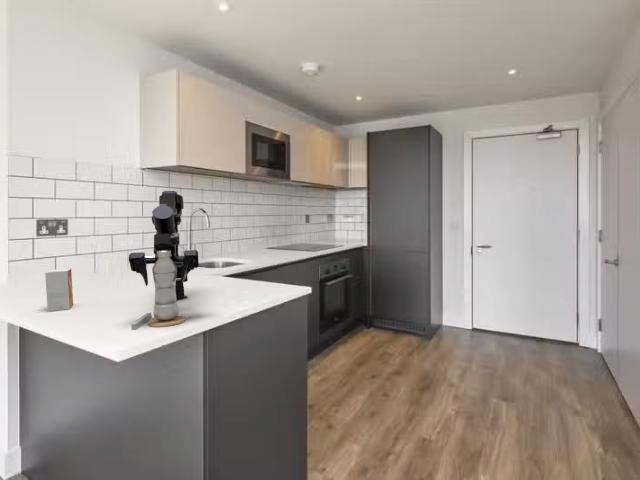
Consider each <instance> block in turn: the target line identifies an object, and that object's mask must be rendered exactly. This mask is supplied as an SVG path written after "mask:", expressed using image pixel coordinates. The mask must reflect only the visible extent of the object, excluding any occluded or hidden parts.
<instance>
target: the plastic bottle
mask: <svg viewBox="0 0 640 480" xmlns="http://www.w3.org/2000/svg"><path fill="white" fill-rule="evenodd" d="M171 256H172V255H171V250H157V257H158V260H157V261H156V262H155V264H153V266H152V270H151V271H152V277H153V282H154V294H155V295H154V304H153V312H152V313H153V318H156V319H157V320H170V319H174V318H176V317H177V316H179V305H178V302H177V299H176V288H175V286H176V275H177V266H176V264H175V263H174V262H173V260H172V259H171Z"/></svg>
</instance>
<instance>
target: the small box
mask: <svg viewBox="0 0 640 480" xmlns="http://www.w3.org/2000/svg"><path fill="white" fill-rule="evenodd" d="M44 273H45V290H46V306H47V307H46V309H47V312H57V311H64V310H70V309H71V308H72V306H73V305H74V297H73V295H74V294H73V277H72V276H73V275H72V274H73V273H72V268H57V269H49V270H47V271H46V272H44Z"/></svg>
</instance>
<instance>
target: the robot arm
mask: <svg viewBox="0 0 640 480" xmlns="http://www.w3.org/2000/svg"><path fill="white" fill-rule="evenodd" d="M158 197H159V199H158V202H159V203H158V206H156V207H155V208H153V210H152V211H151V213H152V217H151V222H152V224H153V226H154V229H155V230H156V234H154V235H153V255H152V256H149V255H148V256H146V253H145V251H143V252H141V251H140V252H138V251H137V252H131V253H129V255H128V263H129V268H130V270H131V271H132V272H135V273H136V274H140V276H141V277H142V279H143V282H144V285H145V286H146V287H147V286H148V285H149V277H148V269H147V266H148V265H150V264H151V265H152V264H153V265H154V264H155V262H156V261H157V260H158V257H157V250H171V255H172V256H171V259H172V260H173V262H174V263H175V264H176V266H177V275H176V286H175V288H176V299H177V300H182V299H186V298H188V295H185V286H184V283H186V282H188V281H189V280H188V278H189V277H188V274H189V273H191V271H194V270H195V269H197V268H199V251H198V250H197V249H192V250H191V249H188V250H187V249H185V250H184V251H183V254H184V255H180V254H179V246H180V241H181V240H180V232H179V225H181V222H182V217H181V216H182V215H183V210H184V208H185V207H184V206H185V205H184V197H183V195H181V194H178V191H176V190H164V191H162V192H161V194H160V195H158ZM148 287H149V286H148Z"/></svg>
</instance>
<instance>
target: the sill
mask: <svg viewBox="0 0 640 480" xmlns="http://www.w3.org/2000/svg"><path fill="white" fill-rule="evenodd" d="M152 317H153V316H152V312H146V313H145V314H144V315H142V316H141V317H139V318H138V319H136V320H135V321H133V322H132V323H131V330H132V331H133V330H137V329H139V328H140V327H141V326H143V324H145V323H146V322H148V321H149V320H151V319H153V318H152Z"/></svg>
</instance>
